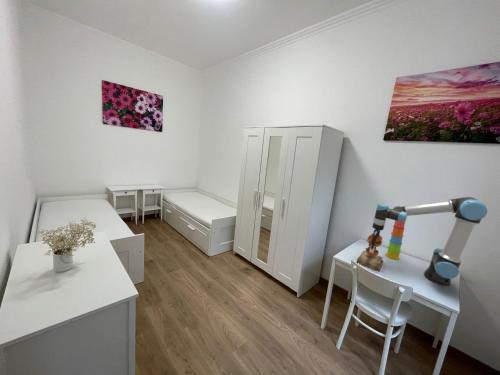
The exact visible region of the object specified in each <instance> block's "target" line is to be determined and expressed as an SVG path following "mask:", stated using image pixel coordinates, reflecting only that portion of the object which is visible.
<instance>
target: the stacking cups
mask: <svg viewBox="0 0 500 375" xmlns="http://www.w3.org/2000/svg"><path fill="white" fill-rule="evenodd" d="M405 224H406V221H405V222H399V221H396V220H394V225H393V227H392V232H391V235H390V239H389V240H388V241H389V244H388V246H387V252H386V253H385V256H386V257H388V258H389V259H392V260H400V254H401V252H402V250H401V247H402V245H403V242H402V241H403V237H404V231H405V226H406V225H405Z"/></svg>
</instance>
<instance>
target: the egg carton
mask: <svg viewBox="0 0 500 375" xmlns="http://www.w3.org/2000/svg"><path fill="white" fill-rule="evenodd" d="M356 262H357V263H356V264H358V263H359V265H360V264H361V266H363V267H365V268H367V269H370V270H373V271H376V272H378V273H379V272H380V271H381V268H382V266H383V264H384V260H383V256H380V255H379V254H378V255H376V256H371V255H368V254H367V253H366V250H363V251H362V252H361V254H360V255H359V256H358V258H357V259H356Z"/></svg>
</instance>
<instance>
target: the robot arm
mask: <svg viewBox="0 0 500 375" xmlns="http://www.w3.org/2000/svg"><path fill="white" fill-rule="evenodd" d="M441 213H451V214H455V215H454V218H455V219H456V220H455V221H454V222H455V223H454V225H453V227H452V229H451V231H450V234H449V235H448V236H449V237H448V239H447V241H446V244H445V245H444V248H435V249H434V251H433V254H432V257H431V260H430V264H429V266H428V267H427V268H426V269H425V271H424V272H423V276H424V277H425V278H426V279H428V280H429V281H431V282H433V283H435V284H437V285H440V286H445V287H446V286H447V287H448V286H450V285H451V283H452V279H455V278H457V277H458V276H459V274H460V269H459V268H460V266H461V265H462V260H461V259H460V258H461V257H462V254H463V252H464V251H465V250H464V249H465V247H466V245H467V243H468V241H469V239H470V236H471V235H472V232H473V230H474V227H475V226H477V225H480V223H481V221H482V220H483V219H484V218H485V217H486V216H487V215H488V208H487V206H486V204H484V202H482V201H480V200H479V199H476V198H475V197H471V196H465V197H464V196H463V197H458V198H451V199H448V200H445V201H439V202H438V201H437V202H430V203H423V204H422V203H421V204H412V205H405V206H400V205H398V206H394V207H393V208H390V206H389V205H387V204H384V203H378V204H377V206H376V210H375V214H374V218H373V223H372V228H373V229H374V230H373V233H372V234H373V238H372V242H371V243H370V244H371V247H370V251H369V252H371V253H373V252H374V248H375V243H376V239H377V237H378V235H380V234H381V231H384V229H385V224H386V221H387V220H386V219H389V220H391V221H393V220H394V221H395V220H396V221H399V222H405V223H406V222H407V218H408V217H410V216H420V215H421V216H422V215H431V214H432V215H433V214H441Z"/></svg>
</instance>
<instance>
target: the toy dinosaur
mask: <svg viewBox="0 0 500 375" xmlns="http://www.w3.org/2000/svg"><path fill="white" fill-rule="evenodd" d="M372 238H373V233H371V234H370V235H369V236H368V237H367V238H366V239H367V240H366V242H367V244H368V246H367V247H365V251H366V253H367V254H368V255H371V256H376V255H378V256H379V250H378V249H377V247H380V246H381V245H382V242H383V237H382V236H381V235H380V234H379V235H378V237H377V239H376V243H375V248H374V252H373V253H371V252H369V251H370V247H371V244H370V243H371V242H372Z"/></svg>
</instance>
